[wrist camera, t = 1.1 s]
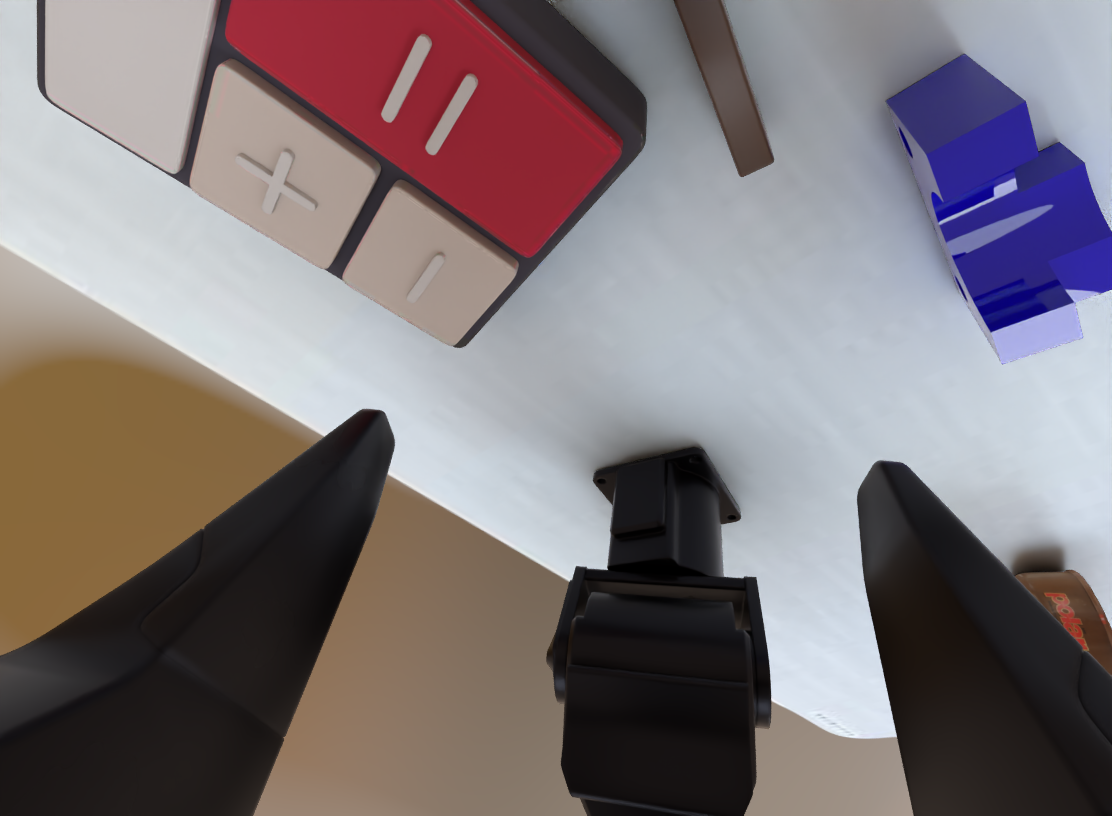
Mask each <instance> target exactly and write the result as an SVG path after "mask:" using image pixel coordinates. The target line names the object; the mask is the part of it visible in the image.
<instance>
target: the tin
mask: <svg viewBox="0 0 1112 816" xmlns="http://www.w3.org/2000/svg"><path fill="white" fill-rule="evenodd" d="M1015 577H1016V578H1017V579H1018V580H1019V581H1020V582H1021V583H1022V584H1023V585H1024V586H1025V587H1026V589H1027V590H1028V591H1029V592H1030V593H1031V594H1032V595H1033V596H1034V597H1035V598H1036V599H1037V600H1038V601H1039V602H1040V603H1041V604H1042V605H1043V606H1044V607H1045V608H1046V609H1047V610H1048V611H1049V612H1050V613H1051V614H1052V615H1053V616H1054V617H1055V618H1056V619H1057V620H1058V621H1059V622H1060V623H1061V625H1062V626H1063V627H1064V628H1065V629H1066V630H1067V631H1068V632H1069V633H1070V634H1071V635H1072V636H1073V637H1074V638H1075V639H1076V640H1077V641H1078V642H1079V643H1080V644H1081V645H1082V647H1083V651H1087V652H1089V653H1090V654H1091V655H1092V656H1093V657H1094V658H1095V659H1096V660H1097V661H1098V662H1099V663H1100V664H1101V665H1102V666H1103V667H1104V668H1105V670H1106V671H1107V672H1108V673H1109V674H1110V675H1111V676H1112V628H1111V627H1110V624H1109V622H1108V620H1107V618H1106V616H1105V613H1104V611H1103V609H1102V607H1101V605H1100V603H1099V601H1098V599H1097V598H1096V596H1095V595H1094V593H1093V591H1092V589H1091V587H1090V586H1089V584H1088V583H1087V582H1086V581H1085V579H1084V578H1083V577H1082V576H1081V575H1080V574H1079V573H1078V572H1076V571H1074V570H1066V571H1064V572H1029V573H1021V574H1017V575H1016V576H1015Z"/></svg>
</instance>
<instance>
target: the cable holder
mask: <svg viewBox="0 0 1112 816" xmlns="http://www.w3.org/2000/svg"><path fill="white" fill-rule="evenodd" d="M886 104H887V106H888V109H889V112H890V114H891V117H892V119H893V122H894V125H895V127H896V130H897V132H898V135H899V138H900V140H901V143H902V145H903V148H904V151H905V153H906V156H907V158H908V161H909V164H910V166H911V169H912V171H913V174H914V177H915V179H916V182H917V184H918V187H919V190H920V192H921V195H922V197H923V200H924V203H925V205H926V208H927V210H928V213H929V216H930V218H931V221H932V223H933V226H934V229H935V231H936V234H937V236H938V239H939V242H940V244H941V247H942V249H943V252H944V255H945V257H946V260H947V262H948V265H949V268H950V270H951V273H952V275H953V278H954V281H955V283H956V286H957V289H958V291H959V293H960V295H961V297H962V298H963V300H964V302H965V303H966V305H967V307H968V308H969V310H970V312H971V313H972V315H973V317H974V318H975V320H976V322H977V323H978V325H979V327H980V328H981V330H982V332H983V333H984V335H985V337H986V338H987V340H988V342H989V343H990V345H991V347H992V348H993V350H994V352H995V353H996V355H997V357H998V358H999V360H1000V362H1001V363H1002V364H1005V363H1008V362H1011V361H1014V360H1017V359H1020V358H1023V357H1026V356H1029V355H1032V354H1035V353H1038V352H1042V351H1045V350H1048V349H1051V348H1054V347H1057V346H1060V345H1063V344H1066V343H1069V342H1072V341H1075V340H1078V339H1081V338H1083V334H1082V330H1081V326H1080V322H1079V318H1078V314H1077V310H1076V306H1075V303H1076V302H1078V301H1081V300H1084V299H1087V298H1090V297H1092V296H1095V295H1098V294H1101V293H1104V292H1106V291H1109V290H1112V231H1111V230H1110V228H1109V226H1108V224H1107V222H1106V220H1105V218H1104V216H1103V214H1102V212H1101V210H1100V208H1099V206H1098V203H1097V201H1096V198H1095V196H1094V193H1093V191H1092V188H1091V185H1090V182H1089V178H1088V175H1087V171H1086V167H1085V163H1084V162H1083V161H1082V160H1081V159H1080V158H1078V157H1077V156H1076V155H1075V154H1073V153H1072V152H1071V151H1070V150H1069V149H1067V148H1066V147H1065V146H1064V145H1062V144H1061V143H1060V142H1059V143H1057V144H1055V145H1053V146H1051V147H1048V148H1046V149H1044V150H1042V151H1040V152H1038V149H1037V145H1036V141H1035V137H1034V133H1033V129H1032V124H1031V120H1030V116H1029V112H1028V108H1027V104H1026V101H1025V100H1024V99H1022V98H1021V97H1020V96H1018V95H1017V94H1016V93H1015V92H1013V91H1012V90H1011V89H1009V88H1008V87H1007V86H1005V85H1004V84H1003V83H1002V82H1000V81H999V80H998V79H996V78H995V77H994V76H993V75H991V74H990V73H989V72H987V71H986V70H985V69H984V68H982V67H981V66H980V65H978V64H977V63H976V62H974V61H973V60H972V59H971V58H969V57H968V56H967V55H965V54H963V55H961V56H960V57H958V58H956V59H955V60H953V61H951V62H950V63H948V64H946V65H945V66H943V67H941V68H940V69H938V70H937V71H935V72H933V73H932V74H930V75H928V76H927V77H925V78H923V79H922V80H920V81H918V82H917V83H915V84H913V85H912V86H910V87H908V88H907V89H905V90H903V91H902V92H900V93H898V94H897V95H895V96H894V97H892V98H890V99H889V100H887V101H886Z"/></svg>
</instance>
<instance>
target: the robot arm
mask: <svg viewBox="0 0 1112 816" xmlns="http://www.w3.org/2000/svg"><path fill="white" fill-rule="evenodd" d="M394 447H395V439H394V435H393V433H392V430H391V427H390V424H389V422H388V419H387V416H386V414H385V413H384V412H383V411H381V410H374V409H362V410H360V411H358V412H357V413H356V414H354V415H353V416H352V417H350V418H349V419H348V420H346V421H345V422H344V423H342V424H341V425H340V426H338V427H337V428H336V429H334V430H333V431H332V432H330V433H329V434H328V435H326V436H325V437H324V438H322V439H321V440H320V441H318V442H317V443H316V444H314V445H313V446H311V447H310V448H309V449H307V450H306V451H305V452H303V453H302V454H301V455H300V456H298V457H297V458H295V459H294V460H293V461H291V462H290V463H289V464H287V465H286V466H285V467H283V468H282V469H281V470H279V471H278V472H277V473H275V474H274V475H273V476H271V477H270V478H269V479H267V480H266V481H265V482H263V483H262V484H261V485H259V486H258V487H257V488H255V489H254V490H253V491H251V492H250V493H249V494H247V495H246V496H245V497H243V498H242V499H241V500H239V501H238V502H236V503H235V504H234V505H232V506H231V507H230V508H228V509H227V510H226V511H224V512H223V513H222V514H220V515H219V516H218V517H216V518H215V519H214V520H212V521H211V522H210V523H208V524H207V525H206V526H205V528H204V529H200V530H199V531H197V532H196V533H195V534H194V535H192V536H191V537H190V538H188V539H187V540H185V541H184V542H183V543H181V544H180V545H179V546H177V547H176V548H174V549H173V550H172V551H170V552H169V553H167V554H166V555H165V556H163V557H162V558H160V559H159V560H158V561H156V562H155V563H153V564H152V565H150V566H149V567H147V568H146V569H144V570H143V571H141V572H140V573H138V574H137V575H135V576H134V577H132V578H131V579H129V580H128V581H126V582H125V583H123V584H122V585H120V586H119V587H117V588H116V589H114V590H113V591H111V592H109V593H108V594H106V595H105V596H103V597H102V598H100V599H99V600H97V601H95V602H94V603H92V604H91V605H89V606H88V607H86V608H85V609H83V610H81V611H80V612H78V613H77V614H75V615H74V616H72V617H71V618H69V619H68V620H66V621H64V622H63V623H61V624H60V625H58V626H57V627H55V628H54V629H52V630H50V631H49V632H47V633H46V634H44V635H42V636H41V637H39V638H37V639H36V640H34V641H32V642H30V643H28V644H26V645H24V646H22V647H20V648H18V649H16V650H13V651H11V652H9V653H6V654H4V655H1V656H0V816H253V815H254V812H255V810H256V808H257V805H258V803H259V800H260V798H261V795H262V793H263V790H264V788H265V785H266V783H267V781H268V778H269V776H270V773H271V771H272V768H273V766H274V764H275V761H276V759H277V756H278V754H279V751H280V748H281V746H282V744H283V741H284V738H283V737H285V736H286V734H287V731H288V728H289V726H290V724H291V721H292V719H293V716H294V714H295V712H296V709H297V707H298V704H299V702H300V699H301V697H302V695H303V692H304V690H305V687H306V685H307V682H308V680H309V677H310V675H311V673H312V670H313V668H314V665H315V663H316V660H317V658H318V655H319V653H320V650H321V648H322V646H323V643H324V641H325V638H326V636H327V633H328V631H329V629H330V626H331V624H332V621H333V619H334V616H335V614H336V611H337V609H338V607H339V604H340V601H341V599H342V596H343V594H344V592H345V589H346V587H347V585H348V582H349V580H350V577H351V575H352V572H353V570H354V567H355V565H356V563H357V560H358V558H359V555H360V553H361V550H362V548H363V545H364V543H365V541H366V538H367V536H368V533H369V531H370V528H371V525H372V523H373V521H374V518H375V515H376V512H377V509H378V505H379V502H380V498H381V495H382V491H383V487H384V484H385V480H386V476H387V473H388V470H389V466H390V462H391V459H392V455H393V452H394ZM593 482H594V484H595V485H596V486H597V487H598V488H599V490H600V491H601V492H602V493H603V494H604V496H605V497H606V498H607V499H608V500H609V502H610V503H611V504H612V505H613V508H612V517H611V527H610V532H611V538H610V547H609V556H608V566H607V568H608V570H600V569H587V567H581V566H576V568H575V572H574V575H573V579H572V580H570V582H569V585H568V589H567V593H566V597H565V600H564V604H563V608H562V612H561V615H560V619H559V623H558V626H557V630H556V633H555V635H554V637H553V640H552V642H551V644H550V647H549V649H548V651H547V657H546V661H547V664H548V666H549V667H550V668H551V670H552V671H553V677H554V689H555V696H556V699H557V701H558V703H560V704H565V707H564V728H563V729H564V730H563V749H562V758H561V767H562V771H563V774H564V777H565V780H566V784H567V787H568V790H569V792H570V794H571V796H572V797H576V798H580V799H581V802H582V804H583V807H584V809H585V811H586V814H587V816H744V814H745V812H746V809H747V807H748V805H749V803H750V800H751V798H752V795H753V789H754V787H755V784H756V752H755V751H756V749H755V727H756V728H764V729H769V728H770V723H771V681H770V667H769V657H768V650H767V643H766V636H765V630H764V624H763V617H762V611H761V604H760V598H759V592H758V585H757V579H756V577H747V576H744V578H731V577H724V575H723V556H722V537H721V524H726V523H732V522H736V521H739V520H740V519H741V512H740V509H739V507H738V506H737V504H736V502H735V501H734V499H733V497H732V496H731V494H730V492H729V491H728V489H727V487H726V486H725V484H724V483H723V481H722V479H721V478H720V476H719V474H718V473H717V471H716V469H715V468H714V466H713V464H712V463H711V461H710V459H709V458H708V456H707V455H706V453H705V451H704V450H703V449H700V448H689V449H685V450H681V451H677V452H673V453H669V454H664V455H660V456H656V457H652V458H648V459H644V460H639V461H635V462H631V463H627V464H623V465H619V466H614V467H610V468H606V469H602V470H598V471H596V472H595V473H594V477H593ZM857 505H858V517H859V529H860V541H861V553H862V565H863V574H864V582H865V587H866V593H867V598H868V602H869V607H870V612H871V616H872V621H873V626H874V631H875V635H876V640H877V645H878V649H879V654H880V659H881V664H882V668H883V673H884V678H885V682H886V687H887V692H888V697H889V701H890V706H891V711H892V715H893V720H894V725H895V730H896V734H897V739H898V744H899V748H900V753H901V758H902V763H903V767H904V772H905V777H906V781H907V786H908V791H909V796H910V800H911V805H912V810H913V814H914V816H1112V676H1111V675H1110V674H1109V673H1108V672H1107V671H1106V670H1105V668H1104V667H1103V666H1102V665H1101V664H1100V663H1099V662H1098V661H1097V660H1096V659H1095V658H1094V657H1093V656H1092V655H1091V654H1090V653H1089V652H1087V651H1083V647H1082V645H1081V644H1080V643H1079V642H1078V641H1077V640H1076V639H1075V638H1074V637H1073V636H1072V635H1071V634H1070V633H1069V632H1068V631H1067V630H1066V629H1065V628H1064V627H1063V626H1062V625H1061V623H1060V622H1059V621H1058V620H1057V619H1056V618H1055V617H1054V616H1053V615H1052V614H1051V613H1050V612H1049V611H1048V610H1047V609H1046V608H1045V607H1044V606H1043V605H1042V604H1041V603H1040V602H1039V601H1038V600H1037V599H1036V598H1035V597H1034V596H1033V595H1032V594H1031V593H1030V592H1029V591H1028V590H1027V589H1026V587H1025V586H1024V585H1023V584H1022V583H1021V582H1020V581H1019V580H1018V579H1017V578H1016V577H1015V576H1014V575H1013V574H1012V573H1011V572H1010V571H1009V570H1008V569H1007V568H1006V567H1005V566H1004V565H1003V564H1002V563H1001V562H1000V561H999V560H998V559H997V558H996V557H995V556H994V555H993V554H992V553H991V551H990V550H989V549H988V548H987V547H986V546H985V545H984V544H983V543H982V542H981V541H980V540H979V539H978V538H977V537H976V536H975V535H974V534H973V533H972V532H971V531H970V530H969V529H968V528H967V527H966V526H965V525H964V524H963V523H962V522H961V521H960V520H959V519H958V518H957V517H956V515H955V514H954V513H953V512H952V511H951V510H950V509H949V508H948V507H947V506H946V505H945V504H944V503H943V502H942V501H941V500H940V499H939V498H938V497H937V496H936V495H935V494H934V493H933V492H932V491H931V490H930V489H929V488H928V487H927V486H926V485H925V484H924V483H923V482H922V481H921V479H920V478H919V477H918V476H917V475H916V474H915V473H914V472H913V471H912V470H911V469H910V468H909V467H908V466H907V465H905V464H904V463H901V462H893V461H883V460H880V461H877V462H875V463H874V465H873V466H872V468H871V469H870V471H869V473H868V474H867V476H866V477H865V479H864V481H863V482H862V484H861V486H860V488H859V490H858V495H857Z"/></svg>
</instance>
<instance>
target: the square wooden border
mask: <svg viewBox="0 0 1112 816" xmlns="http://www.w3.org/2000/svg"><path fill="white" fill-rule="evenodd" d="M674 3H675V6H676V8H677V11H678V14H679V16H680V19H681V22H682V24H683V27H684V30H685V32H686V35H687V38H688V40H689V43H690V46H691V48H692V51H693V54H694V56H695V59H696V62H697V64H698V67H699V70H700V72H701V75H702V78H703V80H704V83H705V86H706V88H707V91H708V94H709V96H710V99H711V102H712V104H713V107H714V110H715V112H716V115H717V118H718V120H719V123H720V126H721V128H722V131H723V134H724V136H725V139H726V142H727V144H728V147H729V150H730V152H731V155H732V158H733V160H734V163H735V166H736V168H737V171H738V174H739V176H740V177H744V176H746V175H749V174H751V173H753V172H755V171H757V170H759V169H761V168H764V167H766V166H768V165H770V164H772V163H773V162H774V157H773V153H772V149H771V146H770V142H769V139H768V135H767V131H766V128H765V125H764V122H763V119H762V116H761V113H760V110H759V107H758V104H757V101H756V98H755V94H754V91H753V88H752V85H751V82H750V79H749V76H748V73H747V70H746V67H745V64H744V61H743V58H742V55H741V52H740V49H739V46H738V43H737V40H736V36H735V33H734V30H733V27H732V24H731V21H730V18H729V15H728V12H727V9H726V6H725V3H724V0H674Z"/></svg>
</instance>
